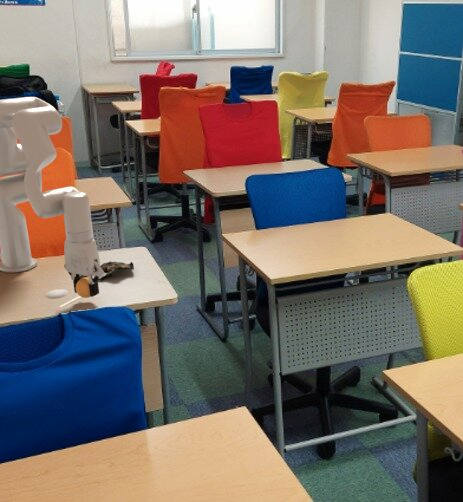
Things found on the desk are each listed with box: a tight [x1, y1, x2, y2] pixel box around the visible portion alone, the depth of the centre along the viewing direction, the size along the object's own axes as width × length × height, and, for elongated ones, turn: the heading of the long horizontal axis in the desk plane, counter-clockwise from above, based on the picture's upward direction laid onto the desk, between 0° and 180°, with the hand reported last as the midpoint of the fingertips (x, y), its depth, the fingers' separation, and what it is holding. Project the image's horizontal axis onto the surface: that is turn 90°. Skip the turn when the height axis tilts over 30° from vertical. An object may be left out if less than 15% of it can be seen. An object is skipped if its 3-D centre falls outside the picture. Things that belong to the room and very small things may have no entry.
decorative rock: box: [80, 260, 135, 279], centre depth 205 cm, size 19×6×15 cm
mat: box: [44, 288, 82, 308], centre depth 188 cm, size 20×16×1 cm
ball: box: [76, 278, 91, 299], centre depth 182 cm, size 6×6×6 cm
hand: (86, 292), depth 183 cm, fingers closed on ball, 5 cm apart
